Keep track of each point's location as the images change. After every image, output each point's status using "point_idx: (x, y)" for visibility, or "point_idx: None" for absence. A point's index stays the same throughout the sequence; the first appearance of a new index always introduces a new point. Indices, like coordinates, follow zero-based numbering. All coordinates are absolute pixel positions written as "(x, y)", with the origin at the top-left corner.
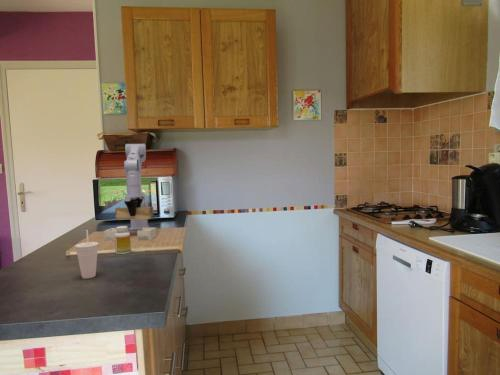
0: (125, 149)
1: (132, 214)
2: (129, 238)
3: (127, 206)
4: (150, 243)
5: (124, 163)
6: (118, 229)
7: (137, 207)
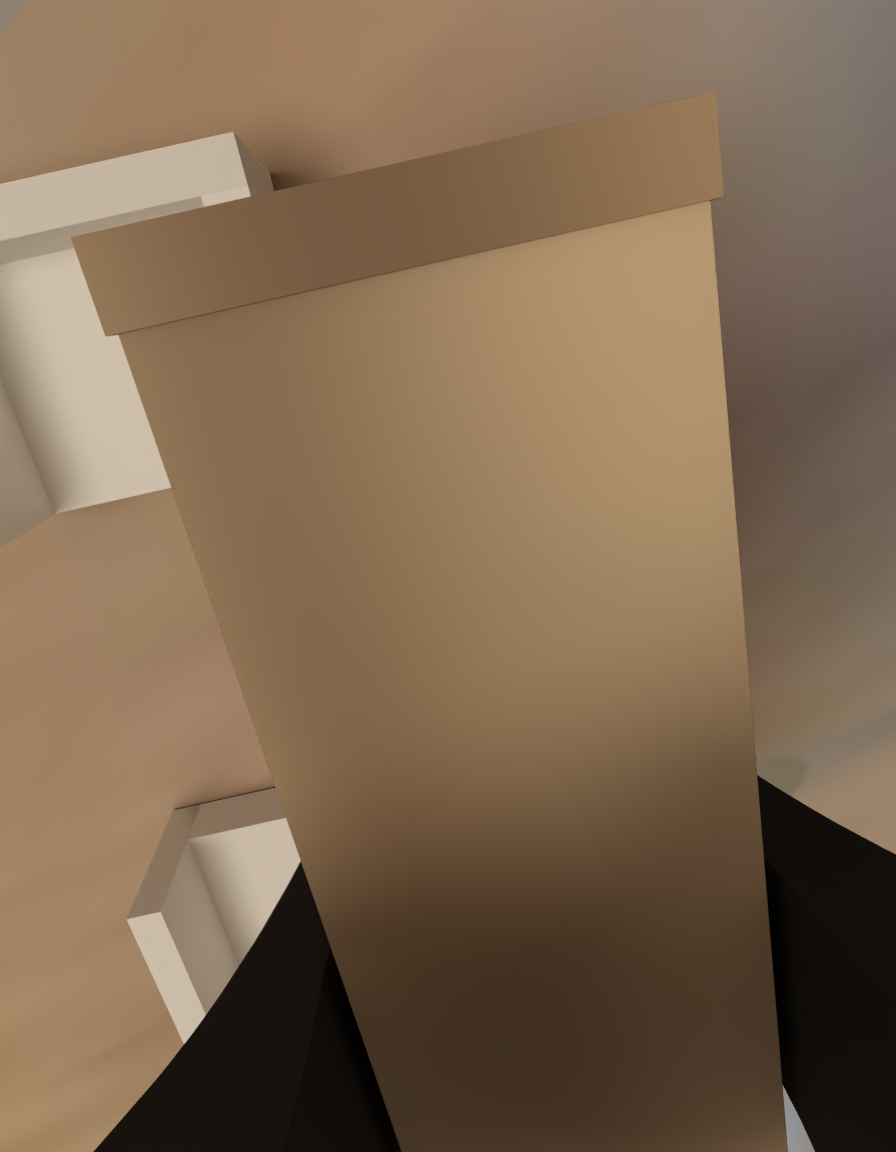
0: None
1: None
2: None
3: (122, 1149)
4: (50, 1059)
5: None
6: None
7: (696, 1105)
